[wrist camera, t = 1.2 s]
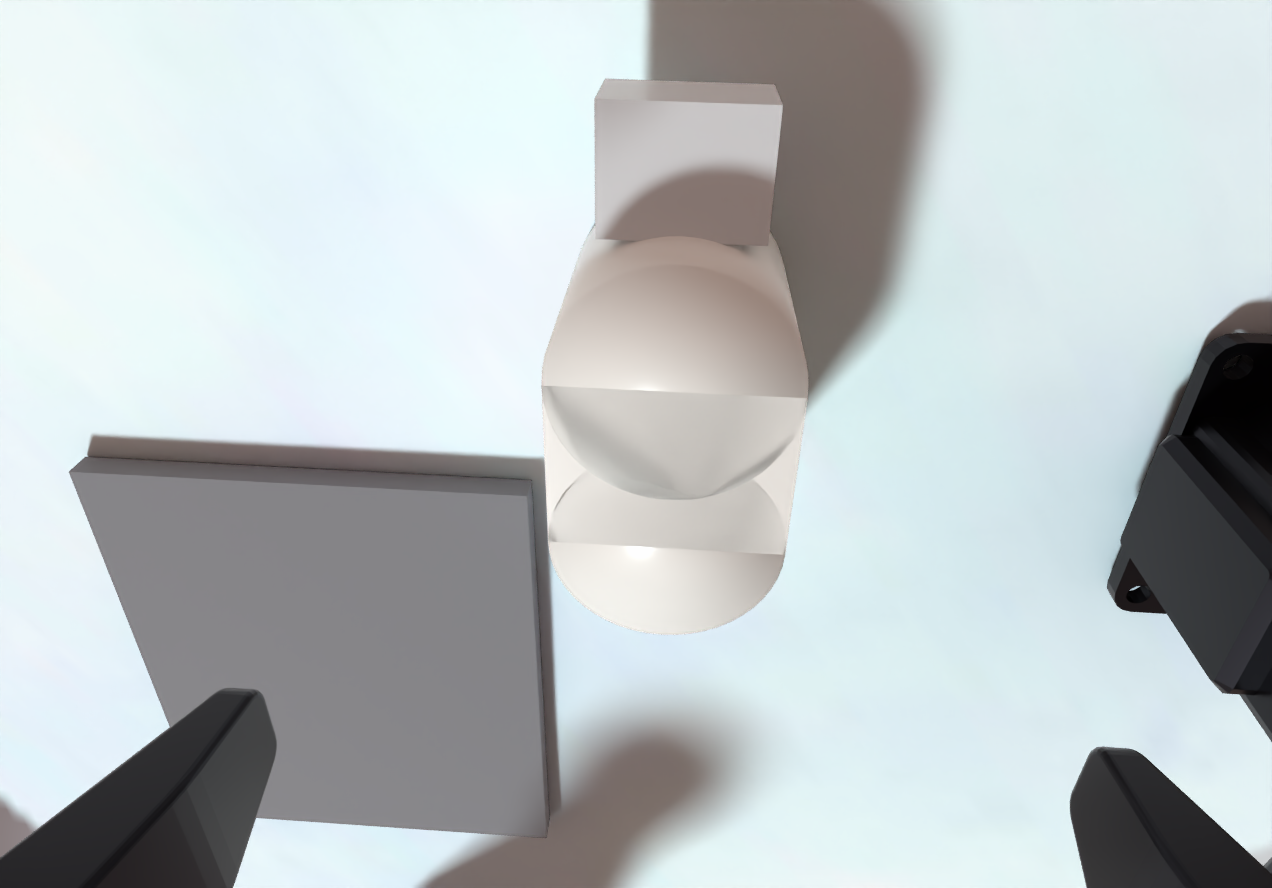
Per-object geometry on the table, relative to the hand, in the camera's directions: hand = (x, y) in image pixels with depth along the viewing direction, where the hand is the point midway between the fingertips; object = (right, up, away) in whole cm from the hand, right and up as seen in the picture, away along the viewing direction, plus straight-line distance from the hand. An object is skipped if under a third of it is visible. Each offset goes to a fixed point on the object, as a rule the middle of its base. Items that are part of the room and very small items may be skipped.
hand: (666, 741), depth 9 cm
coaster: (-8, -2, +13) cm, 15 cm away
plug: (0, +5, +8) cm, 9 cm away
